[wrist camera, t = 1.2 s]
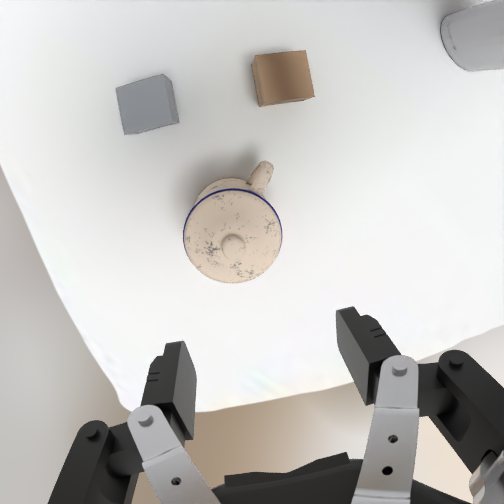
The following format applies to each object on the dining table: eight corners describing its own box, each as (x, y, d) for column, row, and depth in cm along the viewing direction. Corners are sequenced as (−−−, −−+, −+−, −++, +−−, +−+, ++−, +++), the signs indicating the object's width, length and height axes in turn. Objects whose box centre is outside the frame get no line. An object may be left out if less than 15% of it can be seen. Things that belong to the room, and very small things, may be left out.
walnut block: (294, 60, 31) (305, 50, 27) (302, 100, 33) (314, 96, 29) (251, 65, 31) (255, 55, 27) (259, 106, 33) (264, 102, 29)
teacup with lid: (245, 263, 40) (254, 313, 29) (178, 230, 37) (161, 271, 27) (296, 177, 36) (327, 198, 26) (227, 138, 34) (228, 142, 23)
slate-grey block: (171, 81, 31) (163, 74, 27) (179, 122, 33) (172, 121, 28) (129, 93, 31) (115, 88, 26) (137, 133, 33) (124, 134, 28)
